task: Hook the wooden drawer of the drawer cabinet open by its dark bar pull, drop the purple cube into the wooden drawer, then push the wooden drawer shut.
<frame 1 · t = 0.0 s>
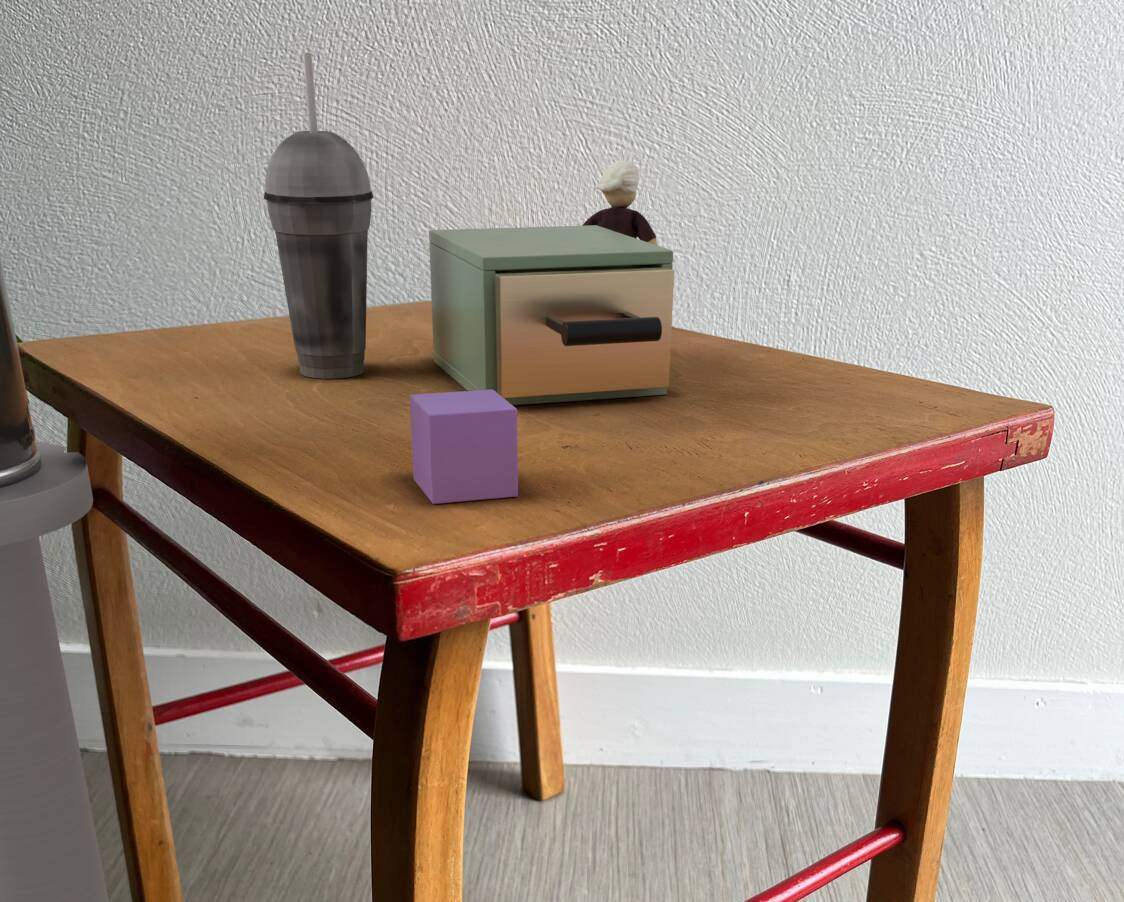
beverage cup: (332, 374, 92), on the table
purple cube: (464, 488, 67), on the table
grandmother figurine: (615, 326, 109), on the table
drawer cabinet: (544, 377, 91), on the table
wooden drawer: (566, 322, 85), point 5 cm above the table, slide at 0.5 cm
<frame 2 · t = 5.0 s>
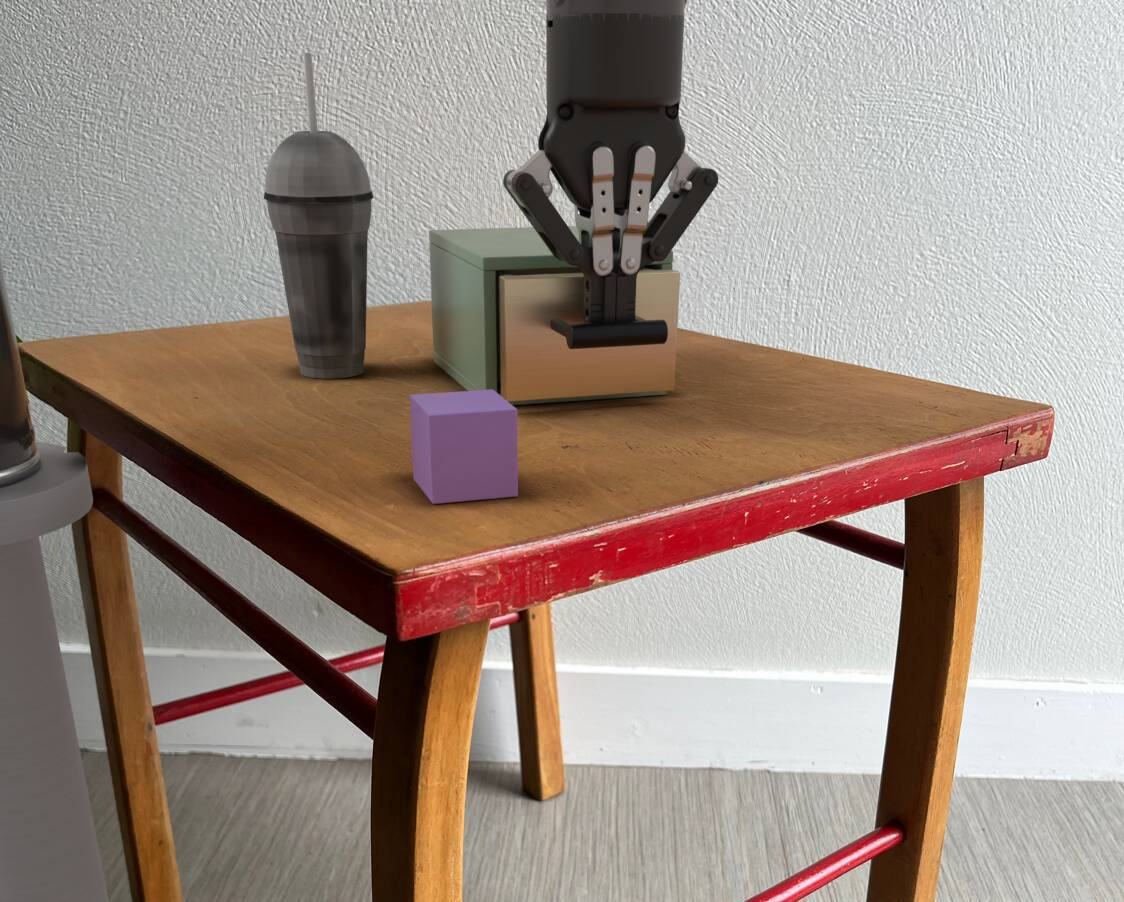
hand: (608, 337, 78), 5 cm above the table, tool pointing down, fingers closed
wooden drawer: (571, 324, 84), point 5 cm above the table, slide at 1.5 cm, touching gripper
everything else where it was.
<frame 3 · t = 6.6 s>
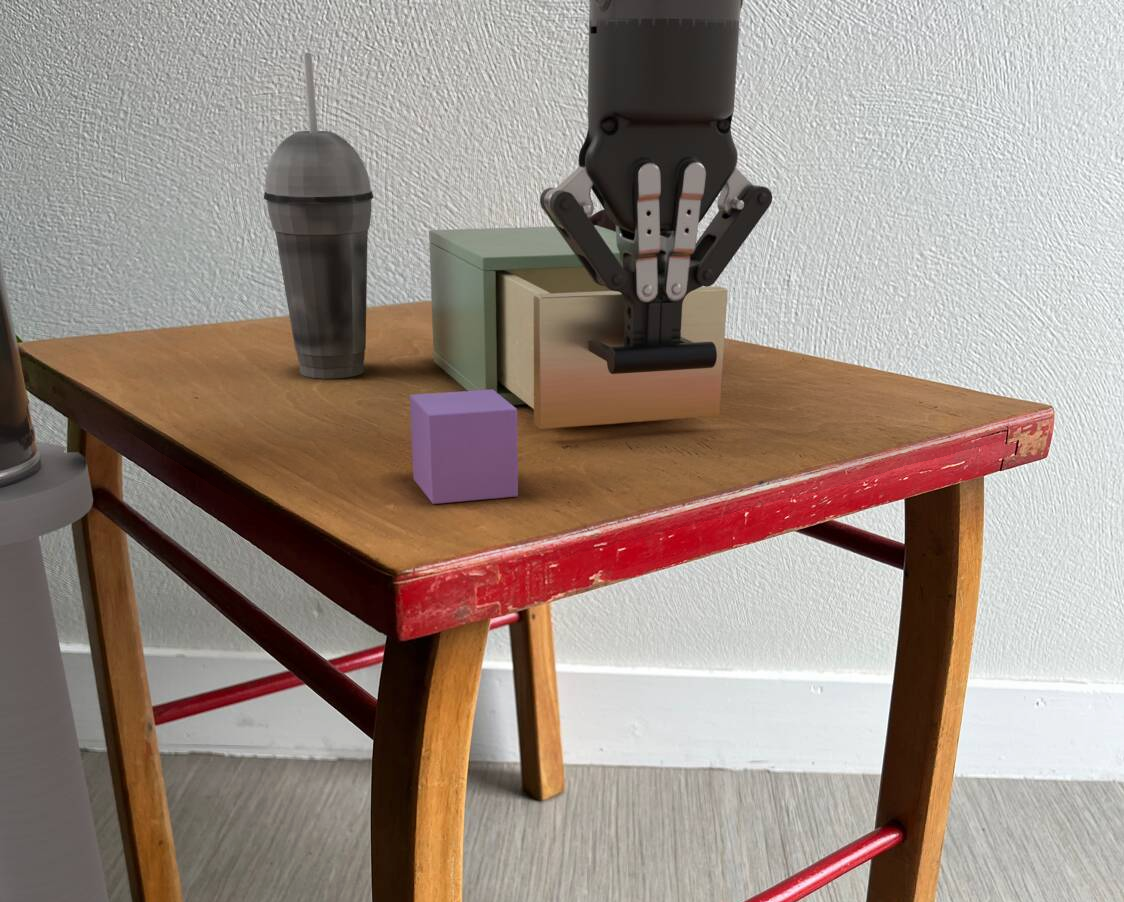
hand: (650, 368, 72), 5 cm above the table, tool pointing down, fingers closed
wooden drawer: (608, 345, 78), point 5 cm above the table, slide at 8.5 cm, touching gripper
everything else where it was.
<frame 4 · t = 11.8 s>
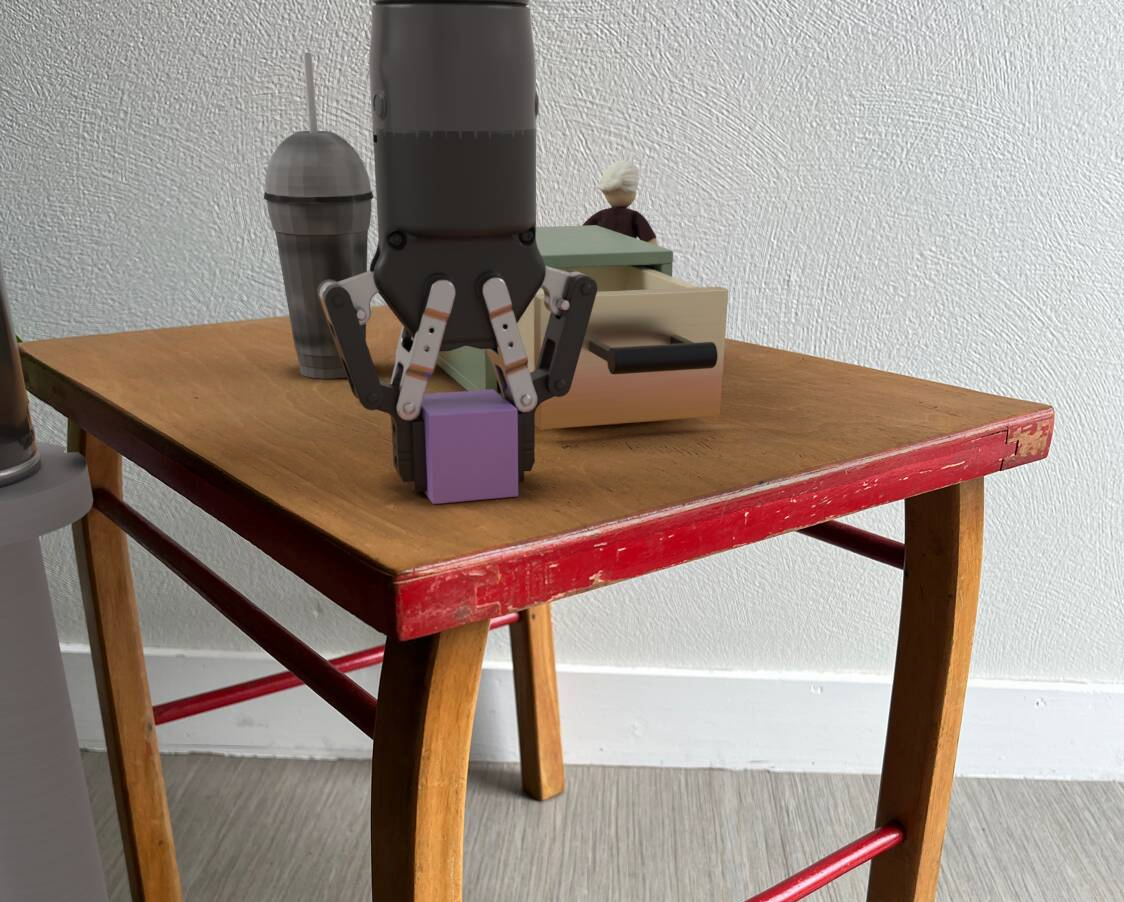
hand: (464, 482, 67), 0 cm above the table, tool pointing down, fingers closed on purple cube, 4 cm apart
purple cube: (465, 488, 67), on the table, touching gripper
wooden drawer: (608, 345, 78), point 5 cm above the table, slide at 8.6 cm
everything else where it was.
when the fingers open (8 cm above the table, at t = 17.6 s): purple cube drops 6 cm, resting on wooden drawer.
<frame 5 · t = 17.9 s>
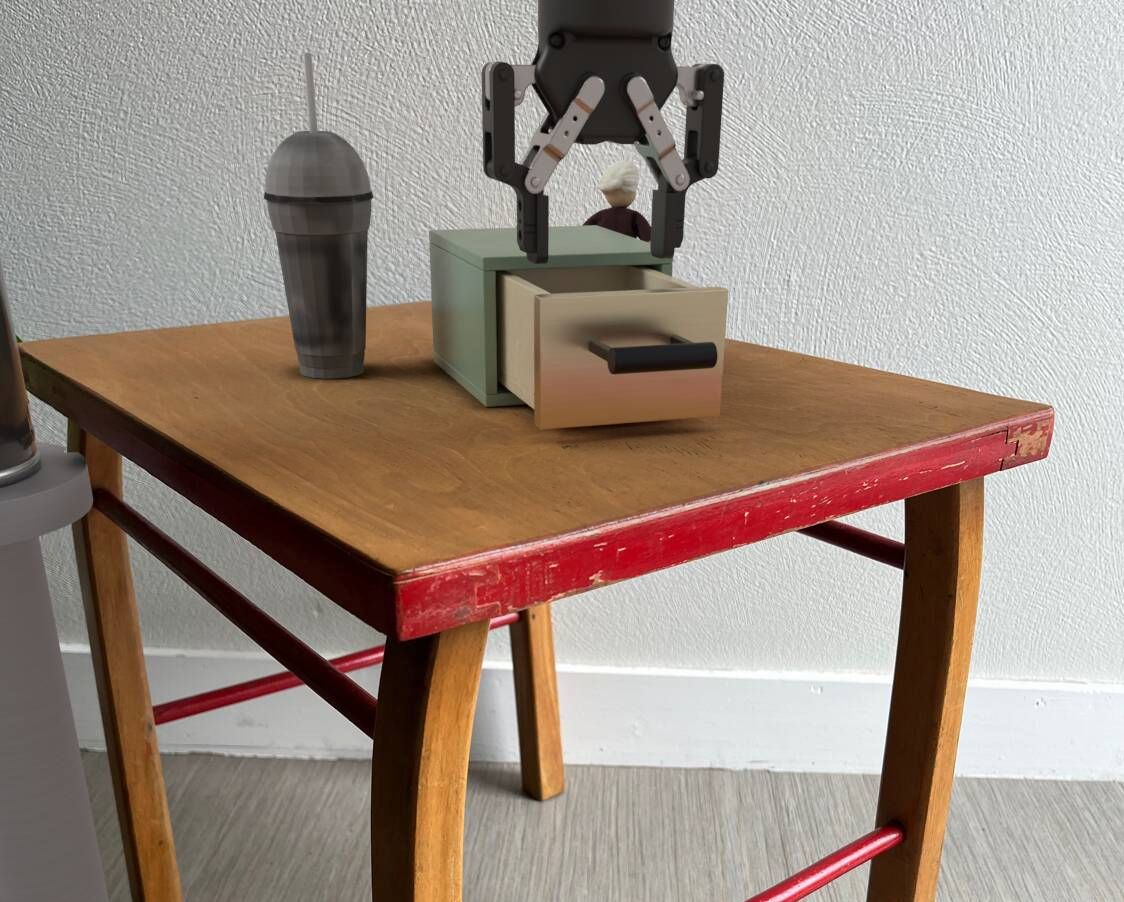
hand: (600, 259, 77), 9 cm above the table, tool pointing down, fingers open, 7 cm apart
purple cube: (599, 382, 80), point 2 cm above the table, touching wooden drawer
wooden drawer: (608, 345, 78), point 5 cm above the table, slide at 8.6 cm, touching purple cube
everything else where it was.
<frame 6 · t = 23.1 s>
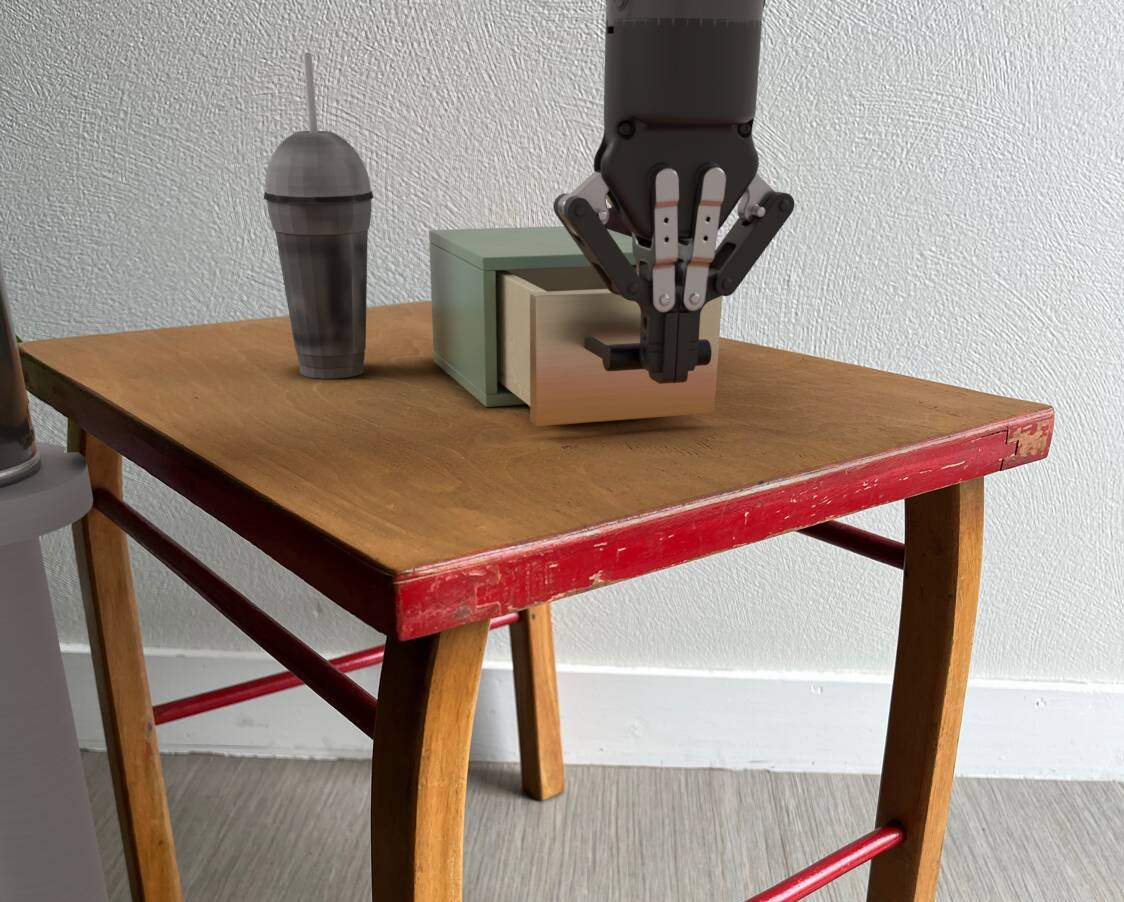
hand: (666, 380, 70), 4 cm above the table, tool pointing down, fingers closed
wooden drawer: (604, 343, 78), point 5 cm above the table, slide at 7.8 cm, touching gripper, purple cube
everything else where it was.
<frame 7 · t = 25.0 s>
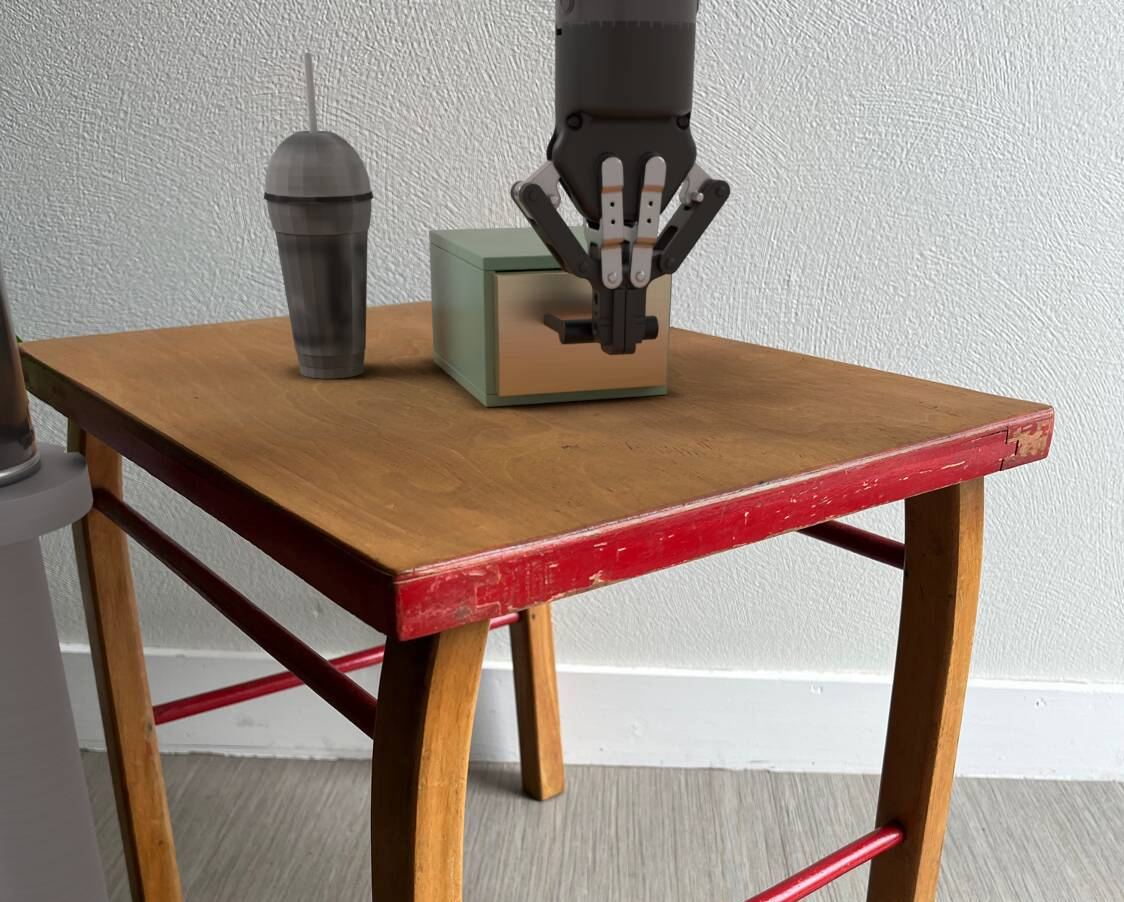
hand: (617, 352, 76), 4 cm above the table, tool pointing down, fingers closed
purple cube: (556, 355, 88), point 2 cm above the table, touching wooden drawer
wooden drawer: (564, 321, 85), point 5 cm above the table, slide at 0.0 cm, touching drawer cabinet, gripper, purple cube
everything else where it was.
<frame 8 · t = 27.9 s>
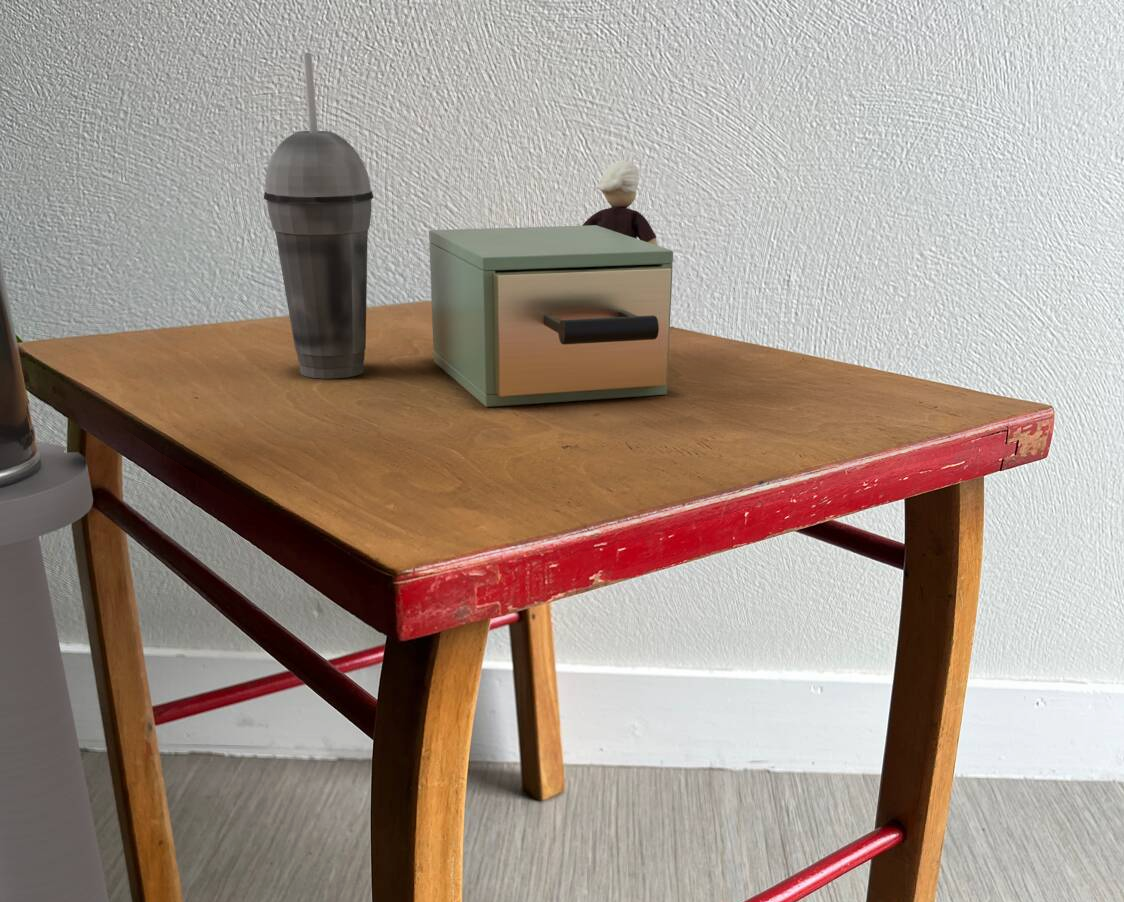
wooden drawer: (564, 321, 85), point 5 cm above the table, slide at 0.0 cm, touching drawer cabinet, purple cube
everything else where it was.
at the end: wooden drawer pulled out 8.6 cm at the most during the clip, back to where it started at the end; purple cube inside the target area in the drawer cabinet (2.5 cm from its centre), point 2.0 cm above the drawer cabinet's base; wooden drawer slide at 0.0 cm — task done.
